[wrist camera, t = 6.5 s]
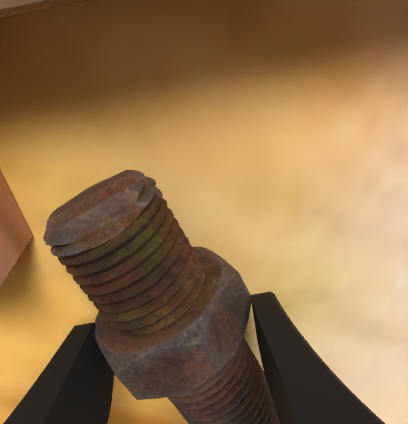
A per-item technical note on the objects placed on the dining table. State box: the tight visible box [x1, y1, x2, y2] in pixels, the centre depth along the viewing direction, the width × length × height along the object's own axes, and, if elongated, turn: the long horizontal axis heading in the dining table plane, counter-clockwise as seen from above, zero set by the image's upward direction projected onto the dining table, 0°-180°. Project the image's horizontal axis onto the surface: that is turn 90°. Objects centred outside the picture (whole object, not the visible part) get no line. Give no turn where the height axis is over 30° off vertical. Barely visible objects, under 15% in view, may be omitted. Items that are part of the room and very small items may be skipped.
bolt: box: [43, 170, 280, 424], centre depth 13 cm, size 6×5×15 cm
